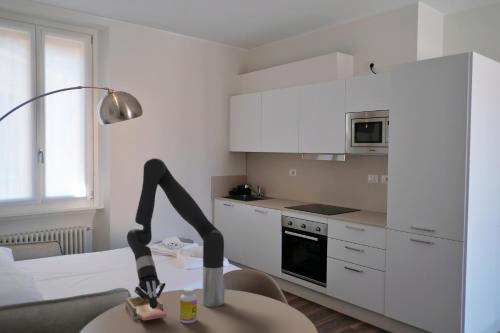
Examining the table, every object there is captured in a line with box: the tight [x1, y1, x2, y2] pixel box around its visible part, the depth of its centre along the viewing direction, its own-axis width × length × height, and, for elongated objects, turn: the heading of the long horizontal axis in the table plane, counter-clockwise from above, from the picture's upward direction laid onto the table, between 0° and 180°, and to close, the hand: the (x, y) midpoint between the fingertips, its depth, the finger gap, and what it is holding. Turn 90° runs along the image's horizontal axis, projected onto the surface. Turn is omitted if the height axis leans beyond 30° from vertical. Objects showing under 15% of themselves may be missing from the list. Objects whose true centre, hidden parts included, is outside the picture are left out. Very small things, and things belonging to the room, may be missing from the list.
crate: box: [125, 295, 164, 321], centre depth 169 cm, size 12×15×4 cm
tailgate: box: [138, 309, 168, 321], centre depth 159 cm, size 9×1×9 cm
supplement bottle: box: [179, 286, 198, 324], centre depth 161 cm, size 7×7×13 cm
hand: (154, 307), depth 157 cm, fingers closed
